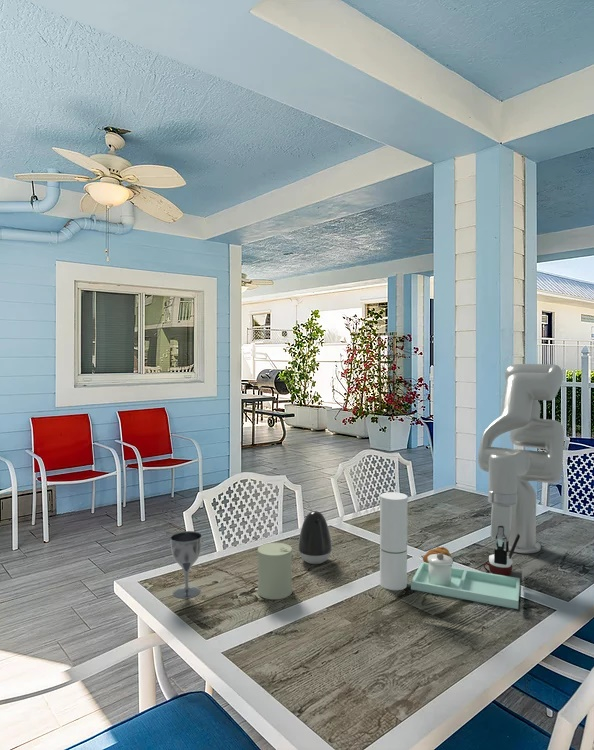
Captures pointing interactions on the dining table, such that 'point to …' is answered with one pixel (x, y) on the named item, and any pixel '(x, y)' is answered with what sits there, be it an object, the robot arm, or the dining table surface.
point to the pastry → (436, 551)
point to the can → (274, 570)
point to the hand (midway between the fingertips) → (501, 557)
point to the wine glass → (186, 558)
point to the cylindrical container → (393, 540)
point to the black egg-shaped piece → (315, 539)
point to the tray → (472, 586)
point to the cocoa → (501, 568)
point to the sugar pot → (440, 569)
